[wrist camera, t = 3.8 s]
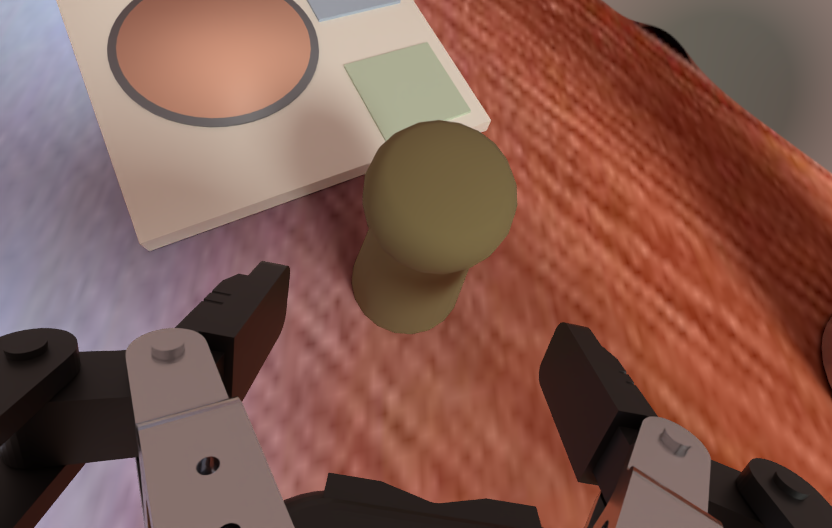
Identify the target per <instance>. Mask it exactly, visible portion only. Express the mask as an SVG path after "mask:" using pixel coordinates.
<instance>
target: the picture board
mask: <svg viewBox="0 0 832 528" xmlns="http://www.w3.org/2000/svg"><path fill="white" fill-rule="evenodd" d="M56 1H57V4H58V7H59V10H60V13H61V16H62V19H63V21H64V24H65V27H66V30H67V33H68V36H69V39H70V42H71V45H72V48H73V51H74V54H75V56H76V59H77V62H78V65H79V68H80V71H81V74H82V77H83V80H84V83H85V86H86V89H87V92H88V94H89V97H90V100H91V103H92V106H93V109H94V112H95V115H96V118H97V121H98V124H99V127H100V130H101V132H102V135H103V138H104V141H105V144H106V147H107V150H108V153H109V156H110V159H111V162H112V165H113V167H114V170H115V173H116V176H117V179H118V182H119V185H120V188H121V191H122V194H123V197H124V200H125V203H126V205H127V208H128V211H129V214H130V217H131V220H132V223H133V226H134V229H135V232H136V235H137V238H138V240H139V243H140V245H142V246H143V247H144V248H146V249H147V250H148V251H152V250H154V249H157V248H160V247H163V246H166V245H168V244H171V243H174V242H177V241H180V240H182V239H185V238H188V237H191V236H194V235H196V234H199V233H202V232H205V231H207V230H210V229H213V228H216V227H219V226H221V225H224V224H227V223H230V222H233V221H235V220H238V219H241V218H244V217H246V216H249V215H252V214H255V213H258V212H260V211H263V210H266V209H269V208H272V207H274V206H277V205H280V204H283V203H286V202H288V201H291V200H294V199H297V198H299V197H302V196H305V195H308V194H311V193H313V192H316V191H319V190H322V189H325V188H327V187H330V186H333V185H336V184H338V183H341V182H344V181H347V180H350V179H352V178H355V177H358V176H361V175H364V174H365V173H366V171H367V169H368V167H369V166H370V164H371V162H372V160H373V158H374V156H375V154H376V152H377V150H378V148H379V147H380V146H381V145H382V144H383V143H385V142H386V141H387V140H388V139H389V138H390V137H391V136H392V135H393V134H395V133H397V132H399V131H401V130H403V129H405V128H407V127H410V126H412V125H414V124H417V123H419V122H426V121H434V120H443V121H450V122H457V123H461V124H463V125H466V126H468V127H470V128H473V129H475V130H478V131H479V132H483V131H486V130H487V128H488V126H489V124H490V122H491V119H490V118H489V116H488V115H487V113H486V112H485V110H484V109H483V107H482V106H481V104H480V102H479V101H478V99H477V98H476V96H475V95H474V93H473V92H472V90H471V89H470V87H469V86H468V84H467V82H466V81H465V79H464V78H463V76H462V75H461V73H460V72H459V70H458V69H457V67H456V65H455V64H454V62H453V61H452V59H451V58H450V56H449V55H448V53H447V52H446V50H445V49H444V47H443V45H442V44H441V42H440V41H439V39H438V38H437V36H436V35H435V33H434V32H433V30H432V29H431V27H430V25H429V24H428V22H427V21H426V19H425V18H424V16H423V15H422V13H421V12H420V10H419V9H418V7H417V5H416V4H415V2H414V1H413V0H56Z"/></svg>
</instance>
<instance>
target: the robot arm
mask: <svg viewBox="0 0 832 528" xmlns="http://www.w3.org/2000/svg"><path fill="white" fill-rule="evenodd" d="M289 279H290V268H289V266H285V265H280V264H275V263H270V262H265V261H261V262H260V263H259V264H258V265H257V266H256V268H255V269H254V270H253V271H252V272H251V273H250V274H249V275H248V276H247V275H242V274H237V275H235V276H232V277H230V278H228V279H225V280H223V281H222V282H221V283H220V284H219V285H218V286H217V287H216V288H215V289H214V290H213V291H212V293H210V294H209V295H208V296H207V297H205V298H204V301H201V302H200V303H199V304H198V305H197V306H196V307H195V308H194V309H193V310H192V311H191V312H190V313H189V314H188V315H187V316H186V317H185V318H184V319H183V320H182V321H181V322H180V323H179V324H178V325H177V326H176V327H175V328H168V329H161V330H156V331H152V332H149V333H147V334H144V335H142V336H140V337H138V338H137V339H136V340H134V341H133V342H132V343H131V344H130V345H129V346H128V348H127V350H121V351H89V352H79V350H78V343H77V339H76V337H75V336H74V335H73V334H71V333H69V332H67V331H64V330H59V329H52V328H38V329H29V330H23V331H18V332H14V333H10V334H7V335H4V336H2V337H0V528H34V527H35V526H36V524H37V523H38V522H39V521H40V519H41V518H42V517H43V516H44V515H45V513H46V512H47V511H48V510H49V508H50V507H51V506H52V505H53V503H54V502H55V501H56V500H57V498H58V497H59V496H60V495H61V493H62V492H63V491H64V490H65V488H66V487H67V486H68V485H69V483H70V482H71V481H72V480H73V478H74V477H75V476H76V475H77V473H78V472H79V471H80V470H81V468H82V467H83V466H84V465H85V463H89V462H98V461H107V460H115V459H124V458H133V457H135V462H136V469H137V476H138V483H139V491H140V498H141V505H142V513H143V520H144V527H145V528H543V527H541V524H540V520H539V516H538V512H537V509H536V507H535V506H529V505H523V504H516V503H510V502H504V501H498V500H492V499H478V500H468V501H458V502H448V503H432V502H429V501H427V500H424V499H422V498H420V497H417V496H415V495H413V494H410V493H408V492H405V491H403V490H401V489H398V488H396V487H394V486H391V485H389V484H386V483H384V482H382V481H376V480H370V479H364V478H358V477H352V476H346V475H340V474H334V473H328V478H327V482H326V486H325V490H324V491H315V492H310V493H305V494H300V495H297V496H295V497H292V498H289V499H286V500H284V501H283V499H282V497H281V494H280V492H279V489H278V487H277V485H276V482H275V480H274V477H273V475H272V473H271V470H270V468H269V466H268V463H267V461H266V458H265V456H264V454H263V451H262V449H261V447H260V444H259V442H258V439H257V437H256V435H255V432H254V430H253V427H252V425H251V423H250V420H249V418H248V416H247V413H246V411H245V408H244V406H243V404H242V401H243V399H244V397H245V396H246V394H247V392H248V390H249V388H250V387H251V385H252V383H253V381H254V380H255V378H256V376H257V374H258V373H259V371H260V369H261V367H262V365H263V364H264V362H265V360H266V358H267V357H268V355H269V353H270V351H271V349H272V348H273V346H274V344H275V342H276V341H277V339H278V337H279V335H280V333H281V331H282V328H283V325H284V321H285V316H286V308H287V298H288V288H289ZM822 356H823V364H824V368H825V371H826V375H827V378H828V381H829V383H830V386H831V388H832V317H831V318H830V320H829V321H828V322H827V325H826V328H825V330H824V333H823V340H822ZM539 382H540V386H541V388H542V391H543V394H544V396H545V399H546V401H547V404H548V406H549V409H550V411H551V414H552V417H553V419H554V422H555V424H556V427H557V429H558V432H559V434H560V437H561V440H562V442H563V445H564V447H565V450H566V452H567V455H568V457H569V460H570V463H571V465H572V468H573V470H574V473H575V475H576V478H577V480H578V482H581V483H587V484H593V485H599V487H600V490H601V491H600V493H599V494H598V496H597V498H596V499H595V501H594V504H593V506H592V509H591V511H590V514H589V517H588V519H587V522H586V524H585V527H584V528H832V506H831V505H830V504H829V503H828V502H827V501H826V500H825V499H824V498H823V497H822V496H821V494H820V493H819V492H818V491H817V490H816V489H815V488H813V487H812V486H811V485H810V484H809V483H808V482H806V481H805V480H804V479H803V478H801V477H800V476H798V475H797V474H795V473H794V472H792V471H791V470H789V469H787V468H785V467H783V466H781V465H779V464H777V463H775V462H772V461H770V460H766V459H761V458H755V459H752V460H751V461H750V462H749V463H748V465H747V466H746V467H745V468H744V470H743V471H742V472H740V471H737V470H735V469H733V468H730V467H728V466H725V465H723V464H720V463H718V462H715V461H713V460H711V458H710V455H709V453H708V451H707V449H706V448H705V447H704V445H703V444H702V443H701V442H700V441H699V440H698V439H697V438H696V437H695V436H694V435H693V434H691V433H690V432H689V431H687V430H686V429H685V428H683V427H681V426H680V425H678V424H676V423H674V422H672V421H669V420H667V419H664V418H660V417H658V416H657V415H656V413H655V412H654V410H653V409H652V408H651V406H650V405H649V403H648V402H647V400H646V399H645V398H644V396H643V395H642V393H641V392H640V391H639V389H638V388H637V386H636V385H634V382H633V381H632V379H631V378H630V376H629V375H628V374H626V371H625V369H624V368H623V367H622V365H621V364H620V362H619V361H618V359H616V358H615V357H614V356H613V355H612V354H611V353H609V352H608V351H607V350H606V349H605V348H604V347H602V346H601V345H600V343H599V342H598V340H597V339H596V337H595V336H594V334H593V333H592V332H591V330H590V329H589V328H588V327H584V326H579V325H574V324H569V323H564V322H562V323H560V324H559V325H558V326H557V328H556V330H555V332H554V335H553V337H552V339H551V342H550V344H549V346H548V349H547V351H546V353H545V356H544V358H543V360H542V363H541V365H540V370H539Z"/></svg>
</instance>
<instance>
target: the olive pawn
mask: <svg viewBox="0 0 832 528" xmlns="http://www.w3.org/2000/svg"><path fill="white" fill-rule="evenodd" d="M363 208H364V212H365V216H366V220H367V225H368V227H369V230H368V232H367V235H366V237H365V240H364V242H363V244H362V247H361V249H360V252H359V254H358V257H357V259H356V261H355V264H354V266H353V275H352V287H353V291H354V296H355V300H356V301H357V303H358V305H359V306H360V308H361V310H362V311H363V313H364V314H365V315H366V316H367V317H368V318H369V319H370V320H372V321H373V322H374V323H375V324H376V325H377V326H380V327H382V328H384V329H387V330H389V331H392V332H394V333H405V334H414V333H418V332H423V331H427V330H430V329H431V328H433V327H434V326H436V325H438V324H439V323H441V322H442V321H444V319H445V318H446V317H447V316H448V314H449V313H450V312H451V311H452V310H453V308H454V306H455V303H456V301H457V298H458V295H459V293H460V290H461V288H462V285H463V283H464V280H465V277H466V275H467V272H468V270H469V268H471V267H473V266H474V265H476V264H478V263H479V262H481V261H483V260H484V259H486V258H488V257H489V256H490V255H491V254H492V253H493V252H494V251H495V249H496V248H497V247H498V246H499V245H500V243H501V242H502V241H503V240H504V238H505V237H506V236H507V235H508V233H509V230H510V227H511V224H512V221H513V218H514V215H515V211H516V208H517V186H516V182H515V179H514V177H513V174H512V171H511V169H510V166H509V163H508V161H507V159H506V157H505V156H504V155H503V153H502V152H501V151H500V149H499V148H498V147H497V146H496V144H495V143H494V142H492V141H491V140H490V139H488V138H487V137H486V136H485V135H483V134H482V133H481V132H479V131H478V130H475V129H473V128H470V127H468V126H466V125H463V124H461V123H457V122H450V121H443V120H434V121H426V122H419V123H417V124H414V125H412V126H410V127H407V128H405V129H403V130H401V131H399V132H397V133H395V134H393V135H392V136H391V137H390V138H389V139H388V140H387V141H386V142H385V143H383V144H382V145H381V146H380V147H379V148H378V150H377V152H376V154H375V156H374V158H373V160H372V162H371V164H370V166H369V167H368V169H367V171H366V173H365V179H364V188H363Z"/></svg>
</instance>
